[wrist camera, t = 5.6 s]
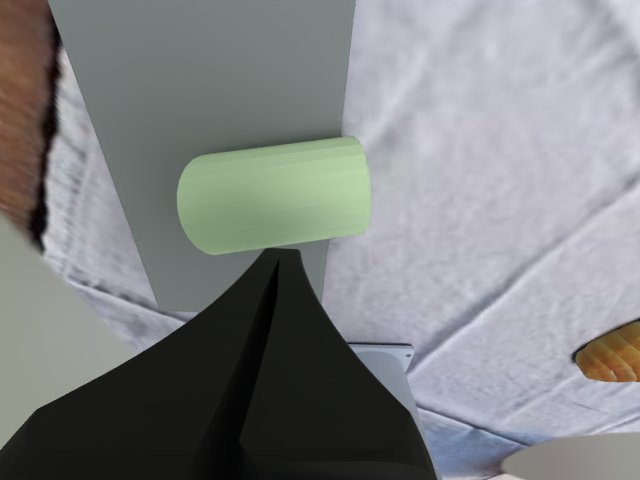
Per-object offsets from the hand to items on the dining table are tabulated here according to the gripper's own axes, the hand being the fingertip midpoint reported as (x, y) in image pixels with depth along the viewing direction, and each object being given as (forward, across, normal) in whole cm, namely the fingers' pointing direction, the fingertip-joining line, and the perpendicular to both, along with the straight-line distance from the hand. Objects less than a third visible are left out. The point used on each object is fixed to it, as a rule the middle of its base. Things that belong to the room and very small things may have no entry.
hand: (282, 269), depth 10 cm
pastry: (+8, -34, +13) cm, 37 cm away
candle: (+5, -4, -2) cm, 6 cm away
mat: (+7, +4, 0) cm, 8 cm away
